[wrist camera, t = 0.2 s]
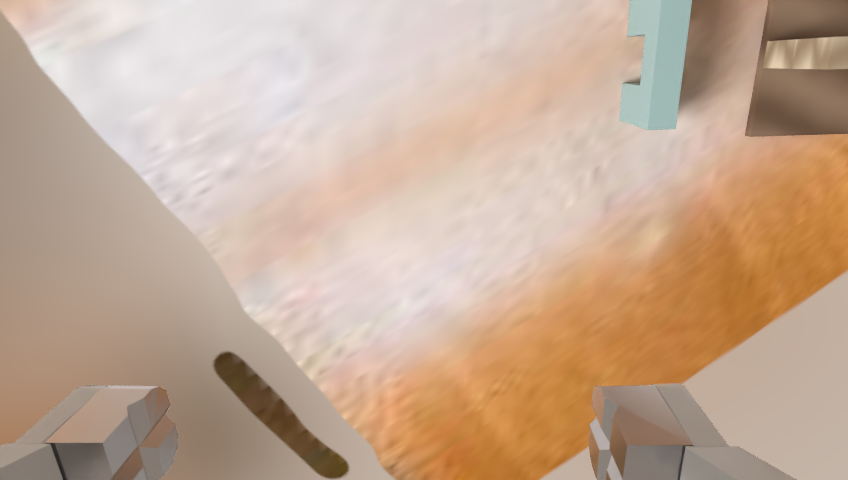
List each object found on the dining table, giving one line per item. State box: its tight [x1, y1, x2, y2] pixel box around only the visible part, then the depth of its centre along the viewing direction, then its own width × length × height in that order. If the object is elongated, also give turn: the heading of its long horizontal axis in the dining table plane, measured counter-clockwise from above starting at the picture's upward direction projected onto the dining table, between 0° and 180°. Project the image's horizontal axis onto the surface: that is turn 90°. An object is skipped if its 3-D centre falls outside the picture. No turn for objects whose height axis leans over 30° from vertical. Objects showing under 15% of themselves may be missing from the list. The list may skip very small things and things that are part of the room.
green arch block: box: [619, 0, 692, 130], centre depth 47 cm, size 12×2×8 cm, turn 2°
